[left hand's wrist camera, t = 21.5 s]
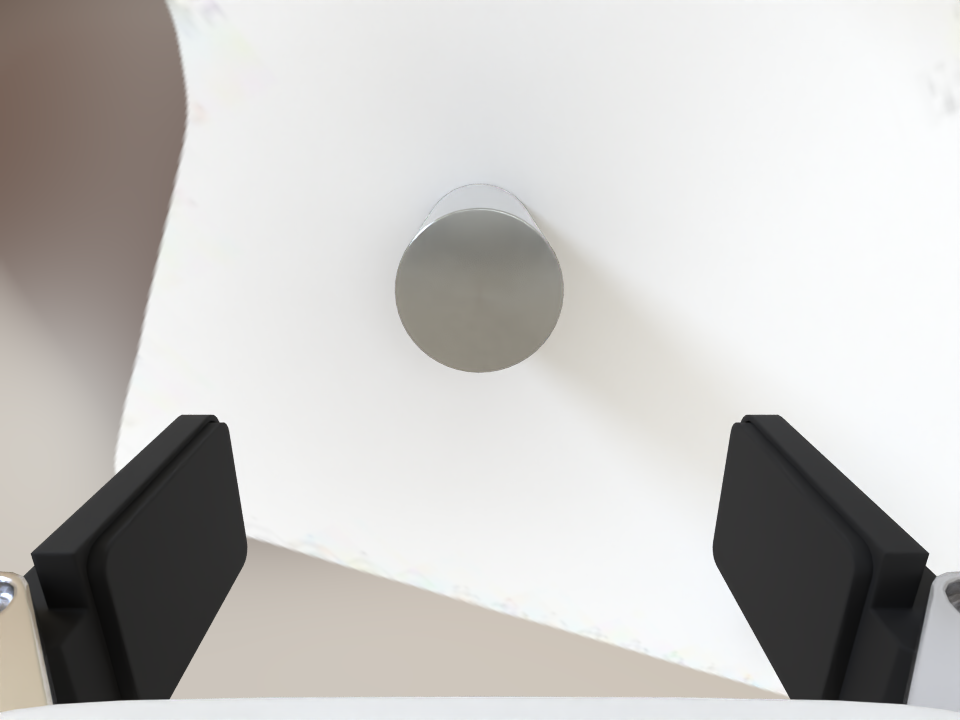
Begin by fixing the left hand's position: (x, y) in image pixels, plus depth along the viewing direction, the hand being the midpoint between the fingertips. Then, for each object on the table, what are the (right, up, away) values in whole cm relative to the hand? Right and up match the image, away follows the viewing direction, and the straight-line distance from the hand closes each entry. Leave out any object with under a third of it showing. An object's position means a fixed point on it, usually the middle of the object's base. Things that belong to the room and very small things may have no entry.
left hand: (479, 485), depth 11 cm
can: (0, +9, +24) cm, 26 cm away
